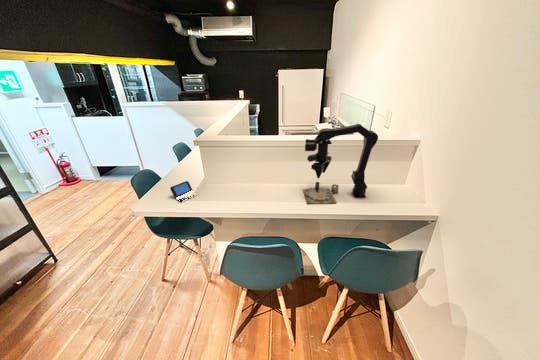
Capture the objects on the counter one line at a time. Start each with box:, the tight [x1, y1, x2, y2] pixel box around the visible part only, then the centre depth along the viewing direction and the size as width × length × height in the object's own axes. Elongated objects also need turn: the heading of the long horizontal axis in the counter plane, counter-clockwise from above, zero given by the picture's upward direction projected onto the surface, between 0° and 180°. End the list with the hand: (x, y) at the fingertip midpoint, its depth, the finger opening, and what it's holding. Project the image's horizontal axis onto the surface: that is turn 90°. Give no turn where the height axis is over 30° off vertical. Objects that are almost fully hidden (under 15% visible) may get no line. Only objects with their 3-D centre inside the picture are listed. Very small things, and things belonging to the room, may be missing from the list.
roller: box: [330, 183, 339, 195], centre depth 134 cm, size 4×4×5 cm
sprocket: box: [305, 181, 334, 201], centre depth 129 cm, size 16×15×6 cm
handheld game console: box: [169, 180, 194, 201], centre depth 134 cm, size 12×11×7 cm
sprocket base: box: [302, 188, 337, 205], centre depth 131 cm, size 17×17×1 cm
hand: (321, 175), depth 130 cm, fingers open, 9 cm apart
